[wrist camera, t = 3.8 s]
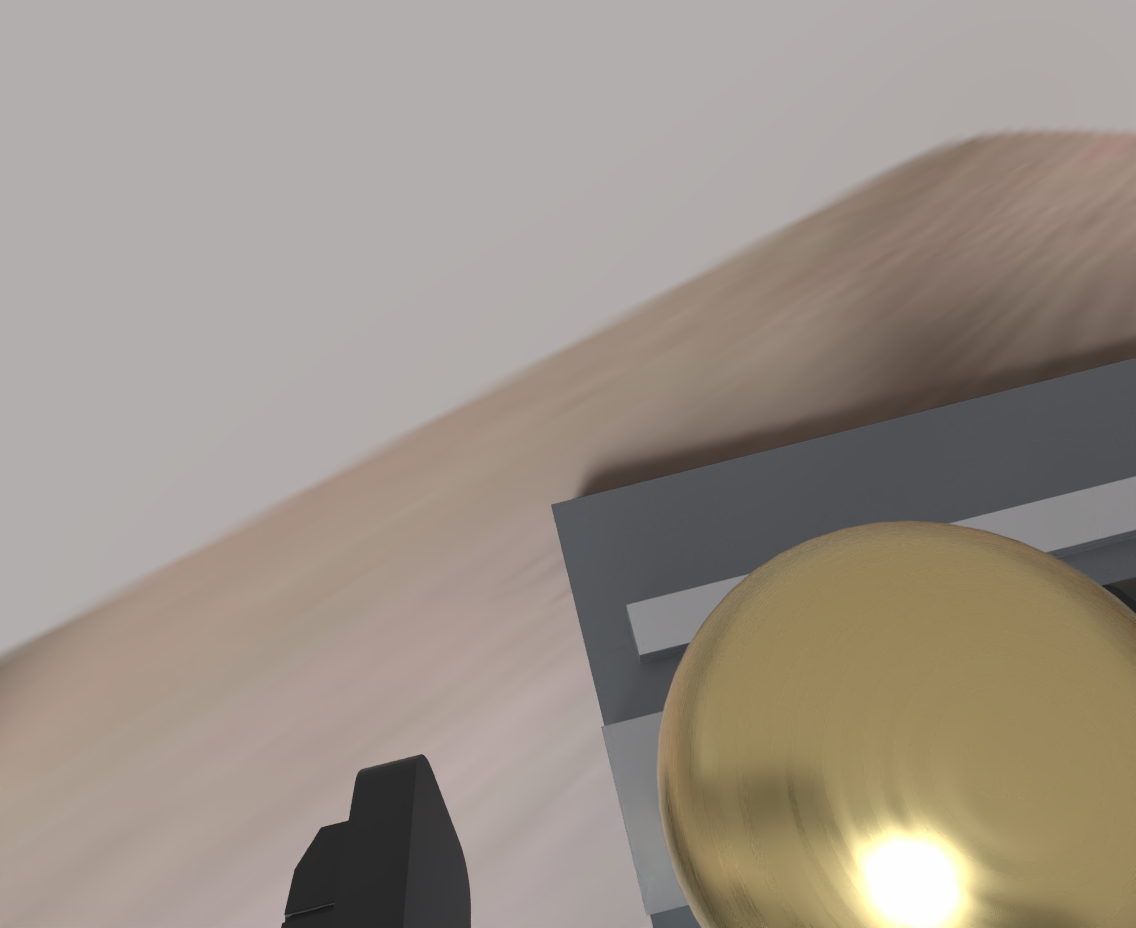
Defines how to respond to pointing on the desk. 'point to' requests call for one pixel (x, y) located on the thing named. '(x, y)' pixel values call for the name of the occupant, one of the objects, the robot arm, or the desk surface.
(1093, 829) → the gold topped lever
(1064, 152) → the desk surface
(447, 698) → the desk surface
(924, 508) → the plate
